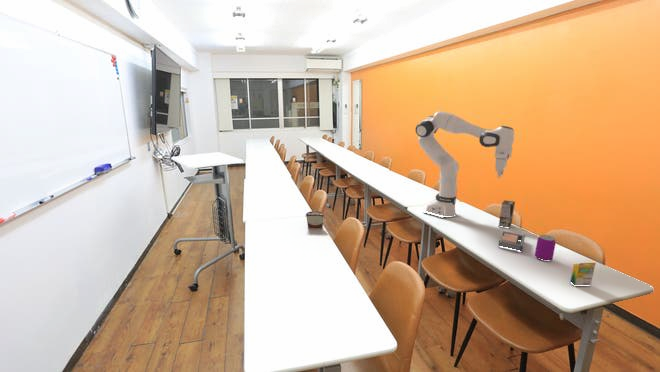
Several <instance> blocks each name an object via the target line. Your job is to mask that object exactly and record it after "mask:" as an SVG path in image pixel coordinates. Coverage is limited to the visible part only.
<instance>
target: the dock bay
mask: <svg viewBox="0 0 660 372" xmlns="http://www.w3.org/2000/svg"><path fill="white" fill-rule="evenodd" d="M504 233H507V234H512V235H517V236H518V240H521V242H520V244H514V243H509V242H505V241H501V240H498V245H499V246H503V247H508V248H512V249H516V250H520V251H522V252H523V249H524V244H525V239H526V235H525V234H519V233H513V232H509V231H502V234H501V235H502V236H504Z"/></svg>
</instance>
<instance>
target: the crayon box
mask: <svg viewBox="0 0 660 372" xmlns="http://www.w3.org/2000/svg"><path fill="white" fill-rule="evenodd" d="M595 267H596V262H580V263H574V264H573V267H572V271H571V277H570V281H569V283H570V282H572V283H573V284H574V285H591V286H592V281H593V276H594V271H595Z"/></svg>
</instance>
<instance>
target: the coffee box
mask: <svg viewBox="0 0 660 372" xmlns="http://www.w3.org/2000/svg"><path fill="white" fill-rule="evenodd" d="M515 204H516V202H515V201H513V200H506V199H504V200H503V201H502V203H501V208H500V209H501V210H500V216H499V223H498V227H499V226H503V227H510V226H512V224H513V219H514V218H513V217H514V209H515ZM510 228H511V227H510Z"/></svg>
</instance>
